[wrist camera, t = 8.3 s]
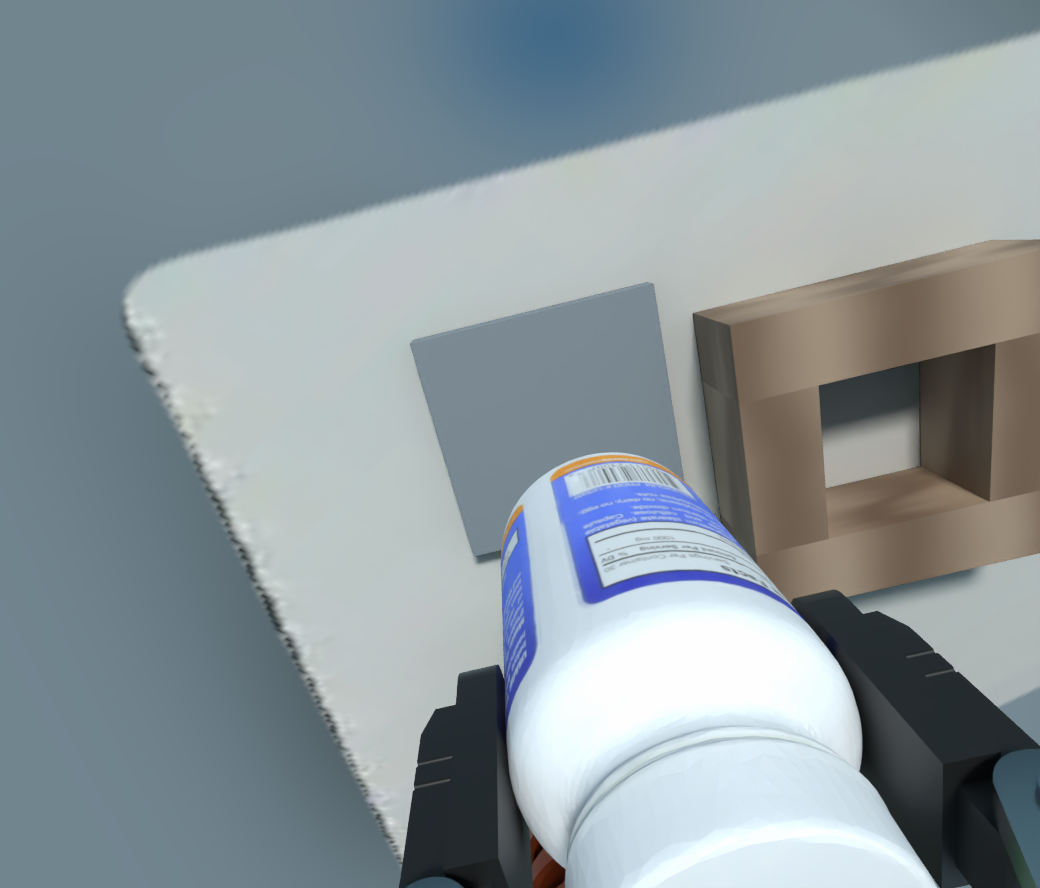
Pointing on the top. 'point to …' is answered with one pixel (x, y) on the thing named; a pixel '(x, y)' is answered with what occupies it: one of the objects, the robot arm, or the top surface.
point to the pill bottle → (676, 700)
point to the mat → (546, 398)
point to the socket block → (943, 420)
